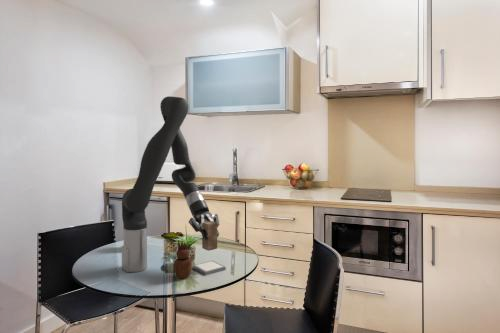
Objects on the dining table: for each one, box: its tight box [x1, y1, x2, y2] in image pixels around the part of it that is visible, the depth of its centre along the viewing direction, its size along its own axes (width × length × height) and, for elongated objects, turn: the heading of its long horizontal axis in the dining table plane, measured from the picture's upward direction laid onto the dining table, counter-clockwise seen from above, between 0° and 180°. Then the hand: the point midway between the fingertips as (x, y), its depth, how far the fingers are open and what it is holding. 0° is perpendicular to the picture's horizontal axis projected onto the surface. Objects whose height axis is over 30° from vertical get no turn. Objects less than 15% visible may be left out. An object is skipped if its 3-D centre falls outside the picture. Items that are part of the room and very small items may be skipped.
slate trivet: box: [192, 260, 227, 276], centre depth 145 cm, size 10×10×1 cm
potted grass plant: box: [173, 239, 193, 279], centre depth 136 cm, size 7×6×15 cm
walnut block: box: [201, 220, 218, 252], centre depth 144 cm, size 4×4×11 cm
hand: (212, 237), depth 143 cm, fingers closed on walnut block, 4 cm apart
